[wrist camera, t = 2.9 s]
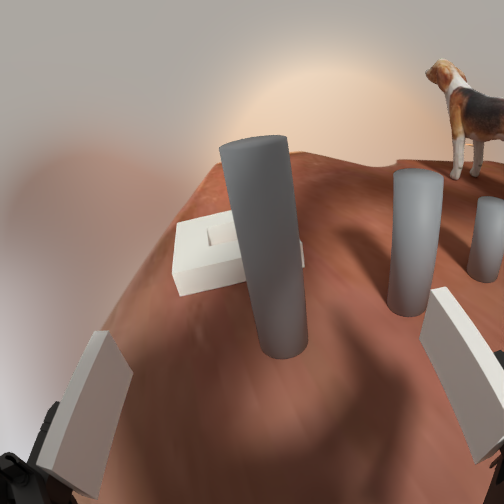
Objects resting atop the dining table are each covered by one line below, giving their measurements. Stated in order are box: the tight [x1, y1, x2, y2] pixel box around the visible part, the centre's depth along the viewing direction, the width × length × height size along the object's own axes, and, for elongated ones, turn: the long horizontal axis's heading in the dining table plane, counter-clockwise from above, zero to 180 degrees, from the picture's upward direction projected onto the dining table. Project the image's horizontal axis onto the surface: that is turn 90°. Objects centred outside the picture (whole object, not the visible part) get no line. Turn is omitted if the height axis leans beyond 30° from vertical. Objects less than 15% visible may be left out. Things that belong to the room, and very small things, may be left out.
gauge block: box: [172, 210, 305, 296], centre depth 39 cm, size 14×14×3 cm
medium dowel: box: [387, 168, 444, 317], centre depth 23 cm, size 4×4×12 cm
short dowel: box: [467, 196, 504, 283], centre depth 25 cm, size 4×4×8 cm
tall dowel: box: [219, 135, 308, 359], centre depth 21 cm, size 4×4×16 cm
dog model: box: [425, 58, 504, 180], centre depth 38 cm, size 10×41×25 cm, turn 10°
